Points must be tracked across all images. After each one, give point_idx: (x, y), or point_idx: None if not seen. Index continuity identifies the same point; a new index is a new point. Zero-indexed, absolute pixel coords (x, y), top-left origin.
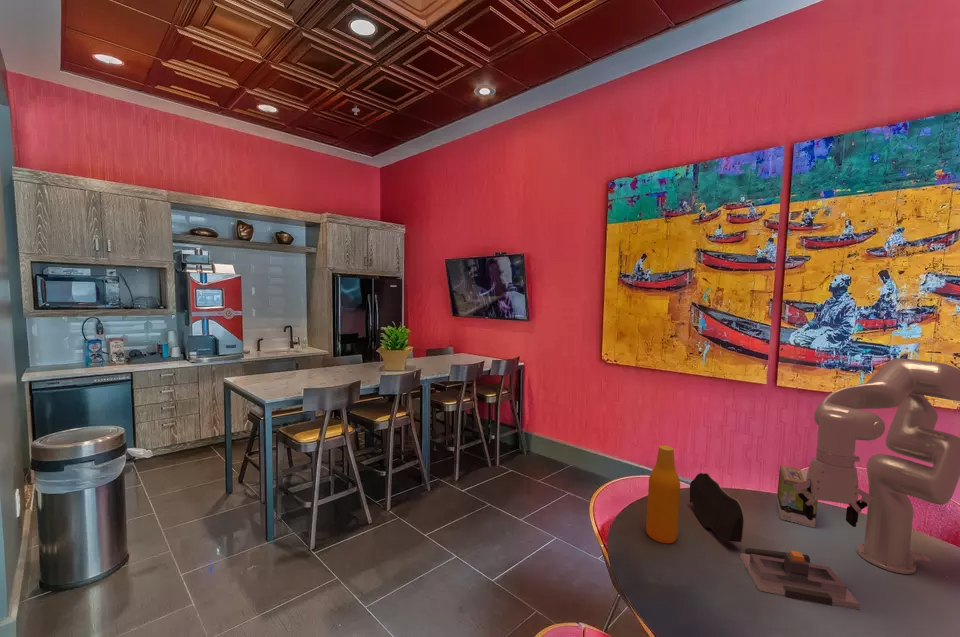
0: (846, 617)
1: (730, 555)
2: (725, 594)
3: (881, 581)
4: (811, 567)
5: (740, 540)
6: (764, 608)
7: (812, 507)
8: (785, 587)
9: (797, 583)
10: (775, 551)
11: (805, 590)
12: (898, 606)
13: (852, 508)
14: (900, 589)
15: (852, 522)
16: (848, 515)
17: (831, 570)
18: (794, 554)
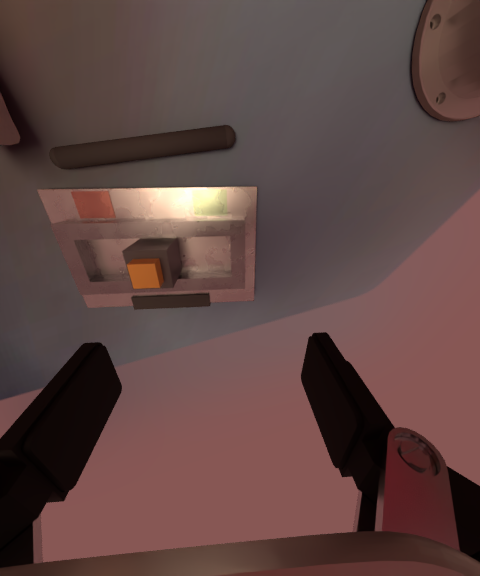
0: (221, 318)
1: (22, 184)
2: (39, 328)
3: (365, 180)
4: (199, 236)
5: (10, 141)
6: (101, 338)
7: (66, 488)
8: (133, 302)
9: None
10: (132, 146)
11: (169, 298)
12: (329, 263)
13: (360, 480)
14: (383, 201)
15: (307, 395)
16: (323, 387)
17: (243, 235)
18: (136, 282)
